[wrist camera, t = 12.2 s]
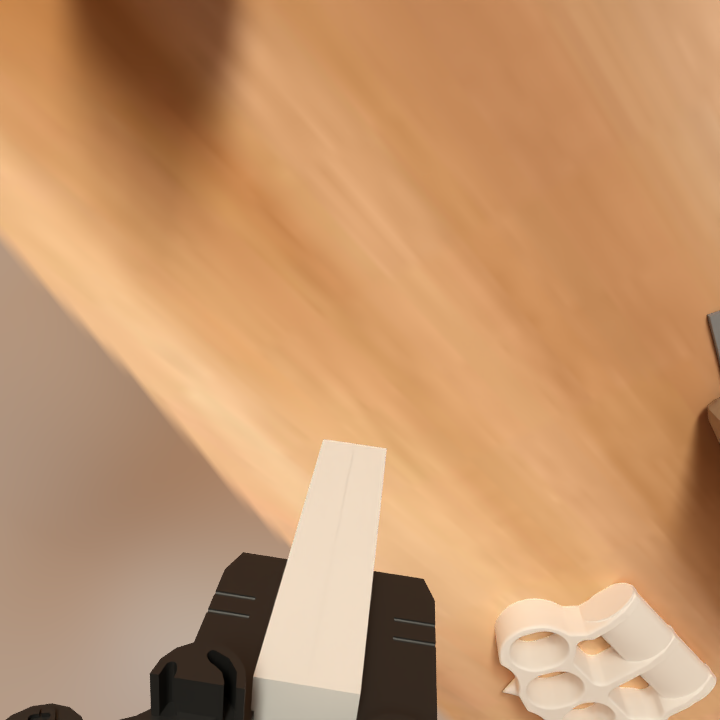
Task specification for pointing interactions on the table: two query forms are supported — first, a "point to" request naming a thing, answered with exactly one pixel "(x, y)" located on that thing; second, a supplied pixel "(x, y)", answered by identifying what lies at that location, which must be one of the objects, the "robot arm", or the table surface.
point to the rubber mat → (715, 330)
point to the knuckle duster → (599, 659)
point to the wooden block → (715, 416)
